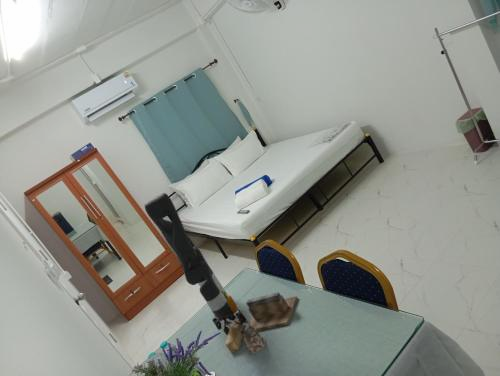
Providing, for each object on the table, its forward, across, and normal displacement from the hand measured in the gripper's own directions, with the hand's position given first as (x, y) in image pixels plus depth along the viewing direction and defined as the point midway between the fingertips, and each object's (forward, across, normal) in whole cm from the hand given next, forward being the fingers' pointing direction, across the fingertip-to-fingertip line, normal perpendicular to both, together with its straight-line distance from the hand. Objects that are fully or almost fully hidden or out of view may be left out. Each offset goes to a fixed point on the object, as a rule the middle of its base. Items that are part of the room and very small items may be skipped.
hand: (237, 333), depth 192 cm
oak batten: (+1, 0, 0) cm, 1 cm away
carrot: (+1, +6, -13) cm, 14 cm away
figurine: (+1, -13, +9) cm, 16 cm away
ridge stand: (+1, -15, -8) cm, 17 cm away
